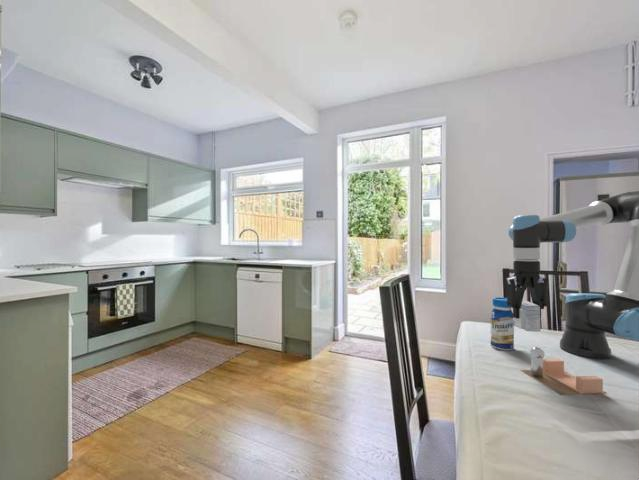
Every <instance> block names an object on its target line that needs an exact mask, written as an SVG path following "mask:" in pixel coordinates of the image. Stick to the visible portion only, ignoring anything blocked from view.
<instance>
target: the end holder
mask: <svg viewBox="0 0 639 480" xmlns="http://www.w3.org/2000/svg"><path fill="white" fill-rule="evenodd" d="M565 372H566V371H565V361H564V360H563V359H561V358H543V373H544V374H546V375H547V376H549V377H551V378H553V379H555V380H557V381H558V382H560V383H562V384H564V385H566V386H567V387H569V388H571V389H573V390H575V391H576V392H578V393H580V394H579V395H598V393H603V394H605V393H604V392H605V391H604V389H603V388H604V386H603V385H604V384H603V383H604V379H603V378H601V377H599V376H597V375H585V376H584V375H579V376H578V375H577V376H574V375H572V374H570V373H568V372H566V373H565ZM567 373H568V374H567ZM569 374H570V375H569ZM571 375H572V376H571ZM573 376H574V377H573ZM575 377H576V378H575ZM603 391H604V392H603Z"/></svg>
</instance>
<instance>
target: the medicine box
mask: <svg viewBox="0 0 639 480" xmlns="http://www.w3.org/2000/svg"><path fill="white" fill-rule="evenodd" d="M520 309H522V310H523V330H524V331H526V332H534V333H535V332H536V333H540V332H541V329H542V328H541V318H540V306H538V305H536V304H534V303H533V302H531V301H528V300H522V304H521V308H520Z"/></svg>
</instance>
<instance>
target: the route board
mask: <svg viewBox="0 0 639 480" xmlns="http://www.w3.org/2000/svg"><path fill="white" fill-rule="evenodd" d="M520 372H522V373H524V374H525V375H527V376H528V377H530V378H532V379H533V380H536V381H537V383H540V384H542V385H544V386H545V387H547V388H548V389H550V390H552V391H554V392H555V393H557V394H558V395H561V396H566V395H567V396H569V395H570V396H571V395H581V394H580V393H578V392H576V391H575V390H573V389H571V388H569V387H567V386H566V385H564V384H562V383H560V382H558V381H557V380H555V379H553V378H551V377H549V376H547V375H546V374H544V373H543V378H537V377H534V376H532V375H531V369H521V370H520ZM564 372H565V373H567V374H569V375H571V376H573V377H575V378H576V376H574V375H572V374H570V373H568V372H566V371H564ZM603 392H604V393H598V394H607V391H604V390H603ZM598 394H597V395H598Z"/></svg>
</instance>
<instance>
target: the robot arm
mask: <svg viewBox="0 0 639 480" xmlns="http://www.w3.org/2000/svg"><path fill="white" fill-rule="evenodd" d="M616 223H619V224H620V223H622V224H623V223H628V224H629V226H630V227H631V228H632V230H631V232H630V236H629V239H628V242H627V246H626V249H625V252H624V255H623V258H622V262H621V266H620V269H619V271H618V275H617V278H616V282H615V285H614V287H613V289H612V291H610V292H607V293H606V294H603V293H581V292H580V293H579V292H577V293H575V292H572V293H568V294H567V295H566V297H565V302H564V304H565V305H564V307H565V308H564V309H565V310H564V312H565V329H564V332H563V334H562V337H561V338H560V341H559V348H560V349H561V350H563V351H565V352H567V353H570V354H573V355H577V356H580V357H586V358H590V359H592V358H593V359H600V360H603V359H604V360H605V359H606V360H607V359H610V358H612V349H611V348H610V346H609V342H608V340H607V337H606V333H608V334H611V335H614V336H617V337H620V338H623V339H627V340H631V341H638V342H639V190H635V191H627V192H623V193H619V194H616V195H613V196H610V197H607V198H603V199H599V200H596V201H594V202H592V203H590V204H589V205H588V206H583V207H580V208H575V209H573V210H569V211H566V212H560V213H557V214H553V215H549V216H546V217H545V216H544V217H541V218H540V216H539V215H537V214H528V215H526V214H525V215H516V216H514V217H513V220H512V225H511V226H510V227H509V228H508V236H509V238H510V240H512V243H513V244H512V247H513V248H512V249H513V250H512V251H513V252H512V254H513V257H512V258H513V259H514V260H513V262H512V263H513V271H514V274H513V277H507V278H505V282H506V286H507V287H506V288H507V289H506V290H507V291H506V294H507V295H506V298H507V306H510V307H512V308H511V309H512V312H513V317H514V318H513V319H514V328H518V329H520V330H522V329H523V310H522V309H520V308H521V304H522V301H524V297H525V296H524V295H525V292H526V291H527V289H528V291H529V294H530V298H531V301H532V302H531V303H534V304H536V305H538V306H540V319H541V318H542V310H544V309H545V307H547V306H548V290H547V284H548V281H549V279H548V278H547V277H543V276H541V275H540V274H539V273H540V271H541V261H540V260H541V246H540V245H541V243H561V244H562V243H569V242H571V241H573V240H574V239H575V238H576V236H577V229H581V228H585V227H590V226H595V225H599V226H603V225H604V226H605V225H608V224H616ZM523 330H524V329H523Z"/></svg>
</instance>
